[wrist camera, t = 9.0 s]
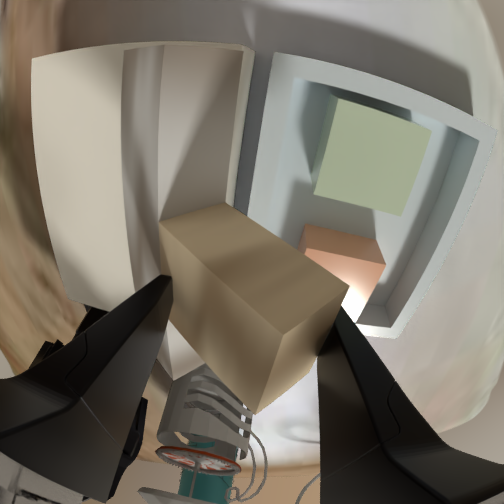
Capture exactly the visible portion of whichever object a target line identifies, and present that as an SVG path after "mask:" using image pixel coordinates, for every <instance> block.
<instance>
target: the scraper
mask: <svg viewBox="0 0 504 504" xmlns="http://www.w3.org/2000/svg"><path fill="white" fill-rule="evenodd" d="M243 53H244V51H240V50H232V49H224V48H214V47H203V46H188V45H156V46H148V47H141V48H134V49H128V50H124V56H123V71H122V91H121V160H122V181H123V196H124V209H125V220H126V230H127V239H128V247H129V255H130V263H131V270H132V277H133V283H134V289H135V292H137V291H138V290H139V289H141V288H142V287H144V286H145V285H146V284H148V283H149V282H150V281H152V280H153V279H154V278H156V277H157V276H159V275H161V274H163V275H169V276H172V280H173V299H174V301H173V305H172V308H171V312H170V316H169V320H168V323H167V327H166V331H165V335H164V338H163V342H162V344H161V347H160V350H159V352H158V355H157V357H156V358H157V360H158V361H159V362H160V364H161V365H162V366H163V368H164V369H165V370H166V372H167V373H168V374H169V376H170V377H171V378H172V380H173V381H174V380H176V379H178V378H180V377H181V376H183V375H185V374H187V373H189V372H190V371H192V370H194V369H196V368H197V367H199V366H201V365H203V364H204V363H206V364H207V365H208V366H209V367H210V369H211V370H212V371H213V372H214V373H215V374H216V375H217V376H218V377H219V378H220V379H221V381H222V382H223V383H224V384H225V385H226V386H227V387H228V388H229V389H230V390H231V391H232V392H233V393H234V394H235V395H236V396H237V397H238V398H239V399H240V400H241V401H242V403H243V404H244V405H245V406H246V407H247V408H248V409H249V410H250V411H251V412H252V413H253V414H254V415H256V414H257V413H259V412H260V411H261V410H263V409H264V408H265V407H267V406H268V405H269V404H271V403H272V402H273V401H274V400H276V399H277V398H278V397H279V396H281V395H282V394H283V393H285V392H286V391H287V390H288V389H289V388H291V387H292V386H293V385H294V384H296V383H297V382H298V381H299V380H300V379H302V378H303V377H304V376H305V375H306V374H308V373H309V371H310V369H311V367H312V365H313V363H314V362H315V360H316V358H317V356H318V354H319V352H320V350H321V348H322V346H323V344H324V342H325V339H326V337H327V335H328V333H329V331H330V329H331V327H332V325H333V323H334V321H335V318H336V316H337V314H338V312H339V310H340V308H341V305H342V303H343V301H344V299H345V296H346V294H347V292H348V289H349V287H350V286H349V285H348V284H346V283H345V282H344V281H342V280H341V279H339V278H338V277H336V276H335V275H333V274H332V273H331V272H329V271H328V270H326V269H325V268H323V267H322V266H320V265H319V264H317V263H316V262H314V261H313V260H312V259H310V258H309V257H307V256H306V255H304V254H303V253H301V252H300V251H298V250H297V249H295V248H294V247H292V246H291V245H289V244H288V243H286V242H285V241H283V240H282V239H280V238H279V237H277V236H276V235H274V234H273V233H271V232H270V231H268V230H267V229H265V228H264V227H262V226H261V225H259V224H258V223H256V222H255V221H253V220H252V219H250V218H249V217H247V216H246V215H244V214H243V213H241V212H240V211H238V210H236V209H235V208H233V207H232V206H230V205H229V204H227V203H226V192H227V182H228V173H229V164H230V155H231V146H232V137H233V129H234V121H235V113H236V105H237V97H238V89H239V82H240V74H241V67H242V60H243Z"/></svg>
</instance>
